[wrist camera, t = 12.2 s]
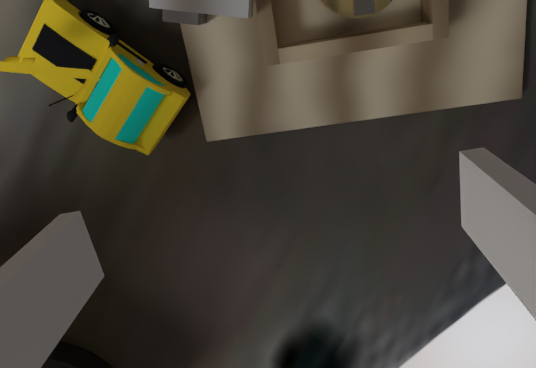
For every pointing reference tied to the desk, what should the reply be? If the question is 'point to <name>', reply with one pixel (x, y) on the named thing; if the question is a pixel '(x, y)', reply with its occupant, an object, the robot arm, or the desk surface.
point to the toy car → (100, 76)
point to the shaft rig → (344, 60)
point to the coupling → (355, 7)
